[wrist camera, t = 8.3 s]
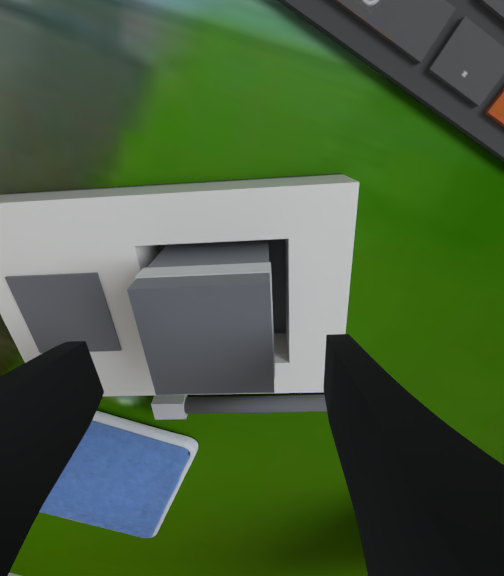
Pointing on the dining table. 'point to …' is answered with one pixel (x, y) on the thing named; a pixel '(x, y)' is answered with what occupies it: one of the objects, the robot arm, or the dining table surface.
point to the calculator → (428, 54)
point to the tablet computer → (122, 476)
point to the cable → (234, 404)
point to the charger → (207, 318)
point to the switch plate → (145, 248)
